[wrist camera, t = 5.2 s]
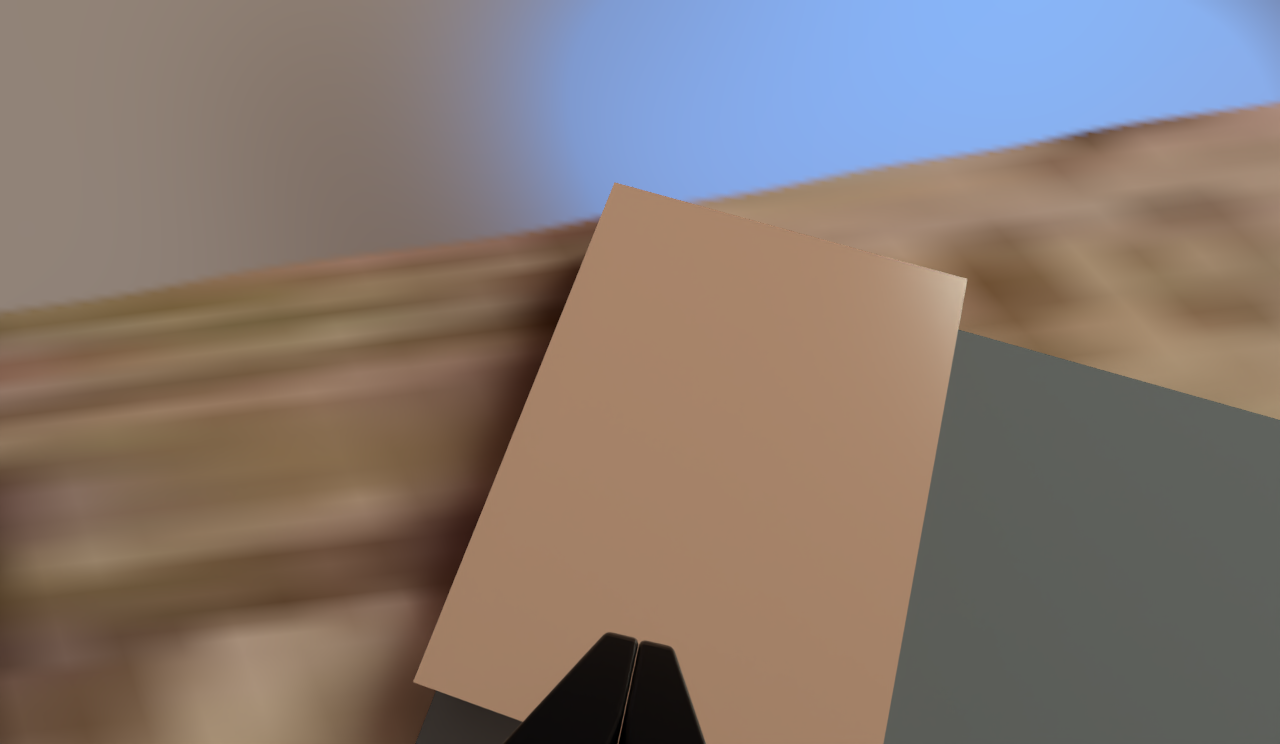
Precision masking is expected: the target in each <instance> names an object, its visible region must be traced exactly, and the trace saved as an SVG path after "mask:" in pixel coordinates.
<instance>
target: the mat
mask: <svg viewBox="0 0 1280 744" xmlns="http://www.w3.org/2000/svg"><path fill="white" fill-rule="evenodd" d="M521 723H522V721H519V720H517V719H514V718H511V717H508V716H506V715H503V714H500V713H497V712H494V711H492V710H489V709H486V708H483V707H481V706H478V705H475V704H472V703H470V702H467V701H464V700H461V699H459V698H456V697H453V696H450V695H447V694H445V693H442V692H439V691H436V692H435V695H434V698H433V700H432V703H431V705H430V708H429V710H428V713H427V715H426V718H425V721H424V723H423V726H422V728H421V731H420V733H419V736H418V738H417V741H416V744H503V743H504V742H505V740H506V739H507V738H508V737H509V736H510V735H511V734H512V733H513V732H514V731H515V730H516V729H517V727H518V726H519V725H520V724H521ZM883 744H1280V420H1278V419H1274V418H1270V417H1267V416H1263V415H1260V414H1256V413H1253V412H1249V411H1246V410H1242V409H1239V408H1235V407H1231V406H1228V405H1224V404H1221V403H1217V402H1214V401H1210V400H1207V399H1203V398H1199V397H1196V396H1192V395H1189V394H1185V393H1182V392H1178V391H1175V390H1171V389H1168V388H1164V387H1160V386H1157V385H1153V384H1150V383H1146V382H1143V381H1139V380H1136V379H1132V378H1128V377H1125V376H1121V375H1118V374H1114V373H1111V372H1107V371H1104V370H1100V369H1096V368H1093V367H1089V366H1086V365H1082V364H1079V363H1075V362H1072V361H1068V360H1065V359H1061V358H1057V357H1054V356H1050V355H1047V354H1043V353H1040V352H1036V351H1033V350H1029V349H1025V348H1022V347H1018V346H1015V345H1011V344H1008V343H1004V342H1001V341H997V340H993V339H990V338H986V337H983V336H979V335H976V334H972V333H969V332H965V331H962V330H958V333H957V339H956V345H955V350H954V356H953V361H952V367H951V372H950V378H949V383H948V389H947V394H946V400H945V405H944V411H943V417H942V422H941V428H940V433H939V439H938V444H937V450H936V455H935V461H934V466H933V472H932V477H931V483H930V489H929V494H928V500H927V505H926V511H925V516H924V522H923V527H922V533H921V538H920V544H919V549H918V555H917V560H916V566H915V572H914V577H913V583H912V588H911V594H910V599H909V605H908V610H907V616H906V621H905V627H904V632H903V638H902V644H901V649H900V655H899V660H898V666H897V671H896V677H895V682H894V688H893V693H892V699H891V704H890V710H889V716H888V721H887V727H886V732H885V738H884V743H883Z"/></svg>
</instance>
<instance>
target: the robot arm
mask: <svg viewBox="0 0 1280 744" xmlns="http://www.w3.org/2000/svg"><path fill="white" fill-rule="evenodd" d="M637 649H638V651H637ZM636 654H637V656H636ZM635 659H636V661H635ZM634 664H635V666H634ZM633 669H634V671H633ZM632 673H633V675H632ZM631 678H632V680H631ZM630 683H631V685H630ZM629 688H630V690H629ZM628 692H629V695H628ZM627 697H628V699H627ZM626 702H627V704H626ZM625 707H626V709H625ZM624 712H625V714H624ZM623 716H624V719H623ZM622 721H623V723H622ZM621 726H622V728H621ZM620 731H621V733H620ZM619 736H620V738H619ZM618 740H619V743H618ZM503 744H706V742H705V739H704V736H703V733H702V730H701V727H700V724H699V721H698V718H697V715H696V712H695V709H694V706H693V703H692V700H691V697H690V694H689V691H688V688H687V686H686V683H685V680H684V677H683V674H682V671H681V668H680V665H679V662H678V659H677V656H676V653H675V651H674V649H673V648H672V647H671V646H668V645H664V644H660V643H655V642H651V641H647V640H644V641H641V642H640V644H639V647H638V640H637V639H636V638H634V637H630V636H626V635H621V634H617V633H613V632H607V633H605V634H604V635H603V636H602V637H601V638H600V639H599V640H598V641H597V642H596V643H595V644H594V645H593V646H592V647H591V648H590V650H589V651H588V652H587V653H586V654H585V655H584V656H583V657H582V658H581V659H580V660H579V661H578V662H577V664H576V665H575V666H574V667H573V668H572V669H571V670H570V671H569V672H568V673H567V674H566V675H565V677H564V678H563V679H562V680H561V681H560V682H559V683H558V684H557V685H556V686H555V687H554V688H553V690H552V691H551V692H550V693H549V694H548V695H547V696H546V697H545V698H544V699H543V700H542V701H541V703H540V704H539V705H538V706H537V707H536V708H535V709H534V710H533V711H532V712H531V713H530V714H529V716H528V717H527V718H526V719H525V720H524V721H523V722H522V723H521V724H520V725H519V726H518V727H517V729H516V730H515V731H514V732H513V733H512V734H511V735H510V736H509V737H508V738H507V739H506V740H505V742H504V743H503Z"/></svg>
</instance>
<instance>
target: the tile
mask: <svg viewBox="0 0 1280 744" xmlns="http://www.w3.org/2000/svg"><path fill="white" fill-rule="evenodd" d="M966 284H967V279H965V278H962V277H958V276H954V275H951V274H947V273H943V272H940V271H936V270H932V269H929V268H925V267H921V266H918V265H914V264H910V263H907V262H903V261H899V260H896V259H892V258H889V257H885V256H881V255H878V254H874V253H870V252H867V251H863V250H859V249H856V248H852V247H848V246H845V245H841V244H837V243H834V242H830V241H826V240H823V239H819V238H816V237H812V236H808V235H805V234H801V233H797V232H794V231H790V230H786V229H783V228H779V227H775V226H772V225H768V224H764V223H761V222H757V221H753V220H750V219H746V218H742V217H739V216H735V215H732V214H728V213H724V212H721V211H717V210H713V209H710V208H706V207H702V206H699V205H695V204H691V203H688V202H684V201H680V200H676V199H673V198H669V197H666V196H662V195H658V194H655V193H651V192H648V191H643V190H640V189H637V188H633V187H629V186H625V185H622V184H618V183H614V186H613V188H612V190H611V193H610V195H609V198H608V200H607V203H606V205H605V208H604V210H603V212H602V215H601V217H600V220H599V222H598V225H597V227H596V230H595V232H594V235H593V237H592V240H591V242H590V245H589V247H588V250H587V252H586V255H585V257H584V260H583V262H582V265H581V267H580V269H579V272H578V274H577V277H576V279H575V282H574V284H573V287H572V289H571V292H570V294H569V297H568V299H567V302H566V304H565V307H564V309H563V312H562V314H561V317H560V319H559V322H558V324H557V326H556V329H555V331H554V334H553V336H552V339H551V341H550V344H549V346H548V349H547V351H546V354H545V356H544V359H543V361H542V364H541V366H540V369H539V371H538V374H537V376H536V378H535V381H534V383H533V386H532V388H531V391H530V393H529V396H528V398H527V401H526V403H525V406H524V408H523V411H522V413H521V416H520V418H519V421H518V423H517V426H516V428H515V431H514V433H513V435H512V438H511V440H510V443H509V445H508V448H507V450H506V453H505V455H504V458H503V460H502V463H501V465H500V468H499V470H498V473H497V475H496V478H495V480H494V483H493V485H492V488H491V490H490V492H489V495H488V497H487V500H486V502H485V505H484V507H483V510H482V512H481V515H480V517H479V520H478V522H477V525H476V527H475V530H474V532H473V535H472V537H471V540H470V542H469V545H468V547H467V549H466V552H465V554H464V557H463V559H462V562H461V564H460V567H459V569H458V572H457V574H456V577H455V579H454V582H453V584H452V587H451V589H450V592H449V594H448V597H447V599H446V602H445V604H444V606H443V609H442V611H441V614H440V616H439V619H438V621H437V624H436V626H435V629H434V631H433V634H432V636H431V639H430V641H429V644H428V646H427V649H426V651H425V654H424V656H423V659H422V661H421V663H420V666H419V668H418V671H417V673H416V676H415V678H414V681H413V682H414V683H417V684H420V685H423V686H425V687H428V688H431V689H434V690H436V691H439V692H442V693H445V694H447V695H450V696H453V697H456V698H459V699H461V700H464V701H467V702H470V703H472V704H475V705H478V706H481V707H483V708H486V709H489V710H492V711H494V712H497V713H500V714H503V715H506V716H508V717H511V718H514V719H517V720H519V721H522V722H523V721H524V720H525V719H526V718H527V717H528V716H529V714H530V713H531V712H532V711H533V710H534V709H535V708H536V707H537V706H538V705H539V704H540V703H541V701H542V700H543V699H544V698H545V697H546V696H547V695H548V694H549V693H550V692H551V691H552V690H553V688H554V687H555V686H556V685H557V684H558V683H559V682H560V681H561V680H562V679H563V678H564V677H565V675H566V674H567V673H568V672H569V671H570V670H571V669H572V668H573V667H574V666H575V665H576V664H577V662H578V661H579V660H580V659H581V658H582V657H583V656H584V655H585V654H586V653H587V652H588V651H589V650H590V648H591V647H592V646H593V645H594V644H595V643H596V642H597V641H598V640H599V639H600V638H601V637H602V636H603V635H604V634H605V633H607V632H613V633H617V634H621V635H626V636H630V637H634V638H636V639H637V640H638V647H639V644H640V642H641V641H644V640H647V641H651V642H655V643H660V644H664V645H668V646H671V647H672V648H673V649H674V651H675V653H676V656H677V659H678V662H679V665H680V668H681V671H682V674H683V677H684V680H685V683H686V686H687V688H688V691H689V694H690V697H691V700H692V703H693V706H694V709H695V712H696V715H697V718H698V721H699V724H700V727H701V730H702V733H703V736H704V739H705V742H706V744H883V743H884V738H885V732H886V727H887V721H888V716H889V710H890V704H891V699H892V693H893V688H894V682H895V677H896V671H897V666H898V660H899V655H900V649H901V644H902V638H903V632H904V627H905V621H906V616H907V610H908V605H909V599H910V594H911V588H912V583H913V577H914V572H915V566H916V560H917V555H918V549H919V544H920V538H921V533H922V527H923V522H924V516H925V511H926V505H927V500H928V494H929V489H930V483H931V477H932V472H933V466H934V461H935V455H936V450H937V444H938V439H939V433H940V428H941V422H942V417H943V411H944V405H945V400H946V394H947V389H948V383H949V378H950V372H951V367H952V361H953V356H954V350H955V345H956V339H957V333H958V328H959V322H960V317H961V311H962V306H963V300H964V295H965V289H966ZM637 651H638V649H637ZM636 656H637V654H636ZM635 661H636V659H635ZM634 666H635V664H634ZM633 671H634V669H633ZM632 675H633V673H632ZM631 680H632V678H631ZM630 685H631V683H630ZM629 690H630V688H629ZM628 695H629V692H628ZM627 699H628V697H627ZM626 704H627V702H626ZM625 709H626V707H625ZM624 714H625V712H624ZM623 719H624V716H623ZM622 723H623V721H622ZM621 728H622V726H621ZM620 733H621V731H620ZM619 738H620V736H619ZM618 743H619V740H618Z"/></svg>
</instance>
